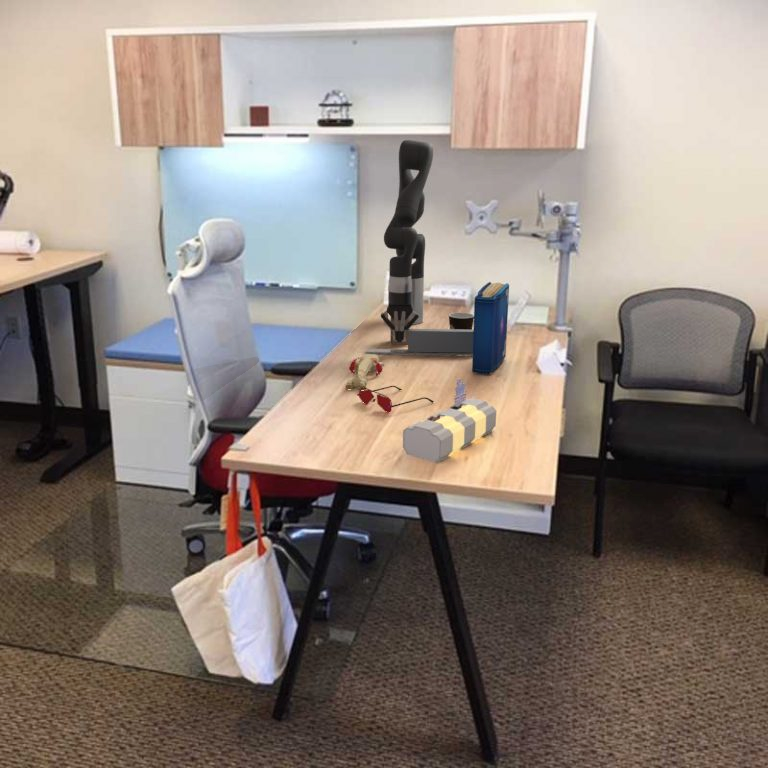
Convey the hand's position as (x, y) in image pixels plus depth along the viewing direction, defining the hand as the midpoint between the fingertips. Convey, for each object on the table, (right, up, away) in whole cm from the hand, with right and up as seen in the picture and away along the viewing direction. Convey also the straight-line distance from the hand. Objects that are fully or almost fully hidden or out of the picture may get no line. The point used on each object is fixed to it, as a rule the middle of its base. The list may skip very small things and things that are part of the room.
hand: (399, 341), depth 269 cm
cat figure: (-11, -13, -25) cm, 30 cm away
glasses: (-2, -20, -46) cm, 50 cm away
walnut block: (0, 0, +13) cm, 14 cm away
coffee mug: (+21, 0, +15) cm, 26 cm away
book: (+28, -9, -13) cm, 32 cm away
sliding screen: (+14, -4, +1) cm, 14 cm away
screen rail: (+9, -4, +1) cm, 10 cm away
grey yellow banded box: (+11, -28, -73) cm, 79 cm away
